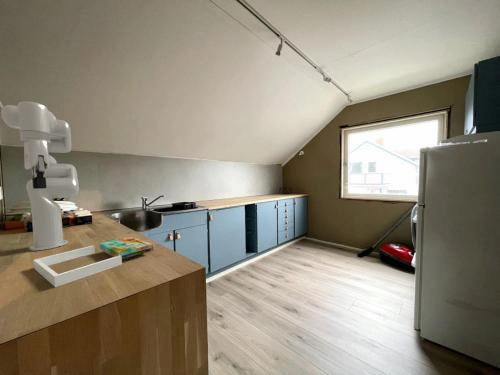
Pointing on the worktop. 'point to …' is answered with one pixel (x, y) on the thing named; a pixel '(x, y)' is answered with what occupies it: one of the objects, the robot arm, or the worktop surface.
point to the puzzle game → (125, 247)
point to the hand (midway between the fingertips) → (39, 188)
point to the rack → (75, 274)
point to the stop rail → (150, 248)
